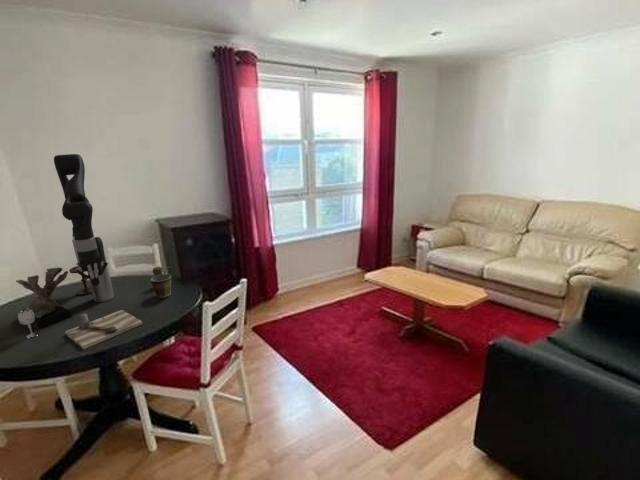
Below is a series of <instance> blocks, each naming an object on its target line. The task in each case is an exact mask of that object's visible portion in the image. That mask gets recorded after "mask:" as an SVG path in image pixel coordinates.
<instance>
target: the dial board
mask: <svg viewBox="0 0 640 480" xmlns="http://www.w3.org/2000/svg"><path fill="white" fill-rule="evenodd" d="M89 324H90V326H97V327H105V328H109V327H112V326H115V327H116V331H114V332H111V333H108V332H107V331H103V330H95V329H82V328H81V327H79V326H80V325H78V326H76V327H73V328H71V329H67V330H65V331H64V333H65V335H66V336H67V337H68V338H69V339H70V340H71V341H73V342H74V343H75V344H76V345H78V346H79V347H80V348H81V349H82V350H85V349H89V348H90V347H92V346H95V345H97V344H99V343H102V342H104V341H107V340H108V339H111V338H113V337H115V336H118V335H120V334H122V333H125V332H128V331H130V330H133V329H135V328H137V327H139V326H141V325H143V321H142V320H140V319H139V318H137V317H135V316H133V315H132V314H131V313H128V312H126V310H123V309H121V310H117V311H115V312H113V313H109V314H108V315H105V316H103V317H100V318H97V319H94V320H91V321H89Z"/></svg>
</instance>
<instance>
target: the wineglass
mask: <svg viewBox="0 0 640 480" xmlns="http://www.w3.org/2000/svg"><path fill="white" fill-rule="evenodd" d="M17 319H18V322H19V324H20V325H22V326H27V328H28V329H29V331H30V334H27V335H26V337H27V338H26V339H31V338H30V337H33V338H35V337H34V336H36V337H37V336H39V335H38V334H40V333H39V332H33V330H32V325H30V324H31V323H33V322H34V321H35V319H36V316H35V313H34V311H33V310H32V309H31V308H28V307H27V308H24V309H23V308H22V309H21V310H18V312H17Z"/></svg>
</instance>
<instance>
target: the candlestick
mask: <svg viewBox="0 0 640 480" xmlns="http://www.w3.org/2000/svg"><path fill="white" fill-rule="evenodd" d="M71 243H72V246H73V249H74V253H75V257H76V260H77V263H76V264H75V265H76V266H73V267H71V268H70V269H69V270H68V271H69V274H77V273H76V272H75V271H74V270H75V269H77V268H78V267H79V258H78V254H77V250H76V246H75V239H74V235H73V233H72V240H71ZM81 269H82V268H81ZM82 272H83V273H84V274H85V272H86V271H85V270H84V269H82ZM87 280H88V279H86V278H84V277H83V276H81V279H80V281H81V282H82V286H83V288H82V289H79V290H78V291H77V296H79V297H80V296H88V295H91V294H92V295H93V293H92V289H91V286H90V287H88V281H87Z"/></svg>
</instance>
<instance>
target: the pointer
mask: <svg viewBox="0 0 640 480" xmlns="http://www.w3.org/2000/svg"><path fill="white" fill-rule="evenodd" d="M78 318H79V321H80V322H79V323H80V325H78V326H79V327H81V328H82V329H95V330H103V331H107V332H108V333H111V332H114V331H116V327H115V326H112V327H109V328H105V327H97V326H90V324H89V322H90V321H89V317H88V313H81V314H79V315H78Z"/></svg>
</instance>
